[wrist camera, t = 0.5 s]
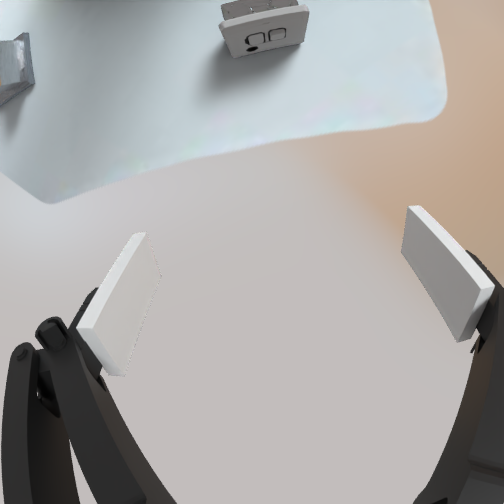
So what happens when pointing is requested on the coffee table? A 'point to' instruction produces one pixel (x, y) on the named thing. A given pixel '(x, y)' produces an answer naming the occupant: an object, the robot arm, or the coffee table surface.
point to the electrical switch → (262, 25)
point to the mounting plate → (26, 71)
